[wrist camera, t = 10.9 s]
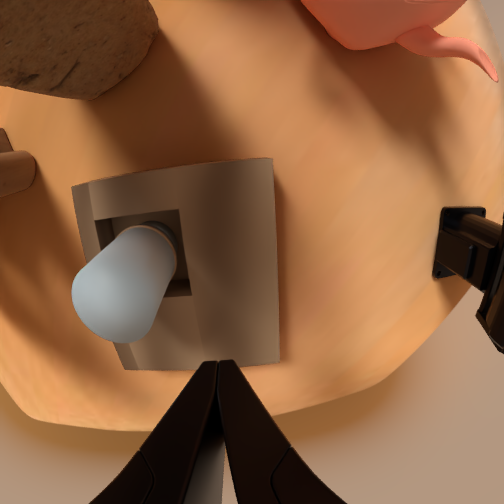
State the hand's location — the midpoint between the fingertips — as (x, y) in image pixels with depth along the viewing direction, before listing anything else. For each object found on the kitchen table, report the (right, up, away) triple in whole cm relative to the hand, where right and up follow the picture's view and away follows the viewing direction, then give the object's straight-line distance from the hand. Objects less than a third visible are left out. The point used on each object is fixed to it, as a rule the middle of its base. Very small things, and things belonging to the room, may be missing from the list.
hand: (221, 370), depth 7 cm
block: (-10, +19, +6) cm, 22 cm away
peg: (-6, +4, +11) cm, 13 cm away
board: (-4, +2, +12) cm, 13 cm away
